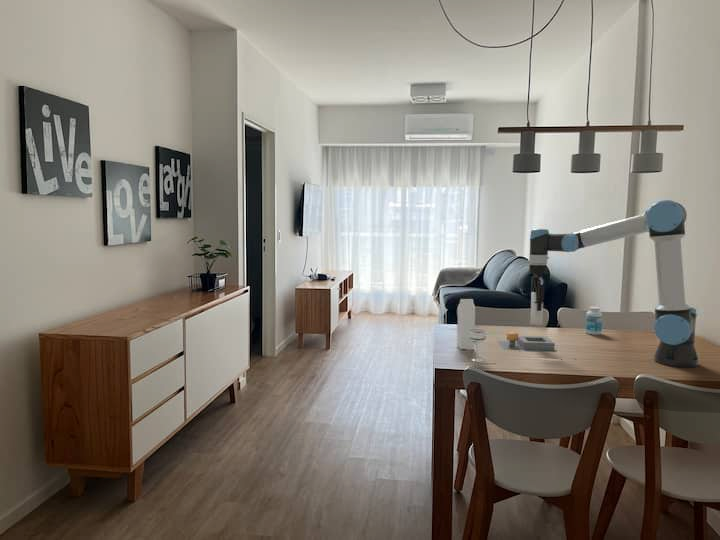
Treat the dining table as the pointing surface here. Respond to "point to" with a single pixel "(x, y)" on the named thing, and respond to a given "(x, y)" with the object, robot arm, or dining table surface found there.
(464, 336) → the milk
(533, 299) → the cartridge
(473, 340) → the wineglass
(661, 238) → the robot arm
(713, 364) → the dining table surface
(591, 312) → the pill bottle
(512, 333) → the orange rounded knob
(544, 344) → the housing
